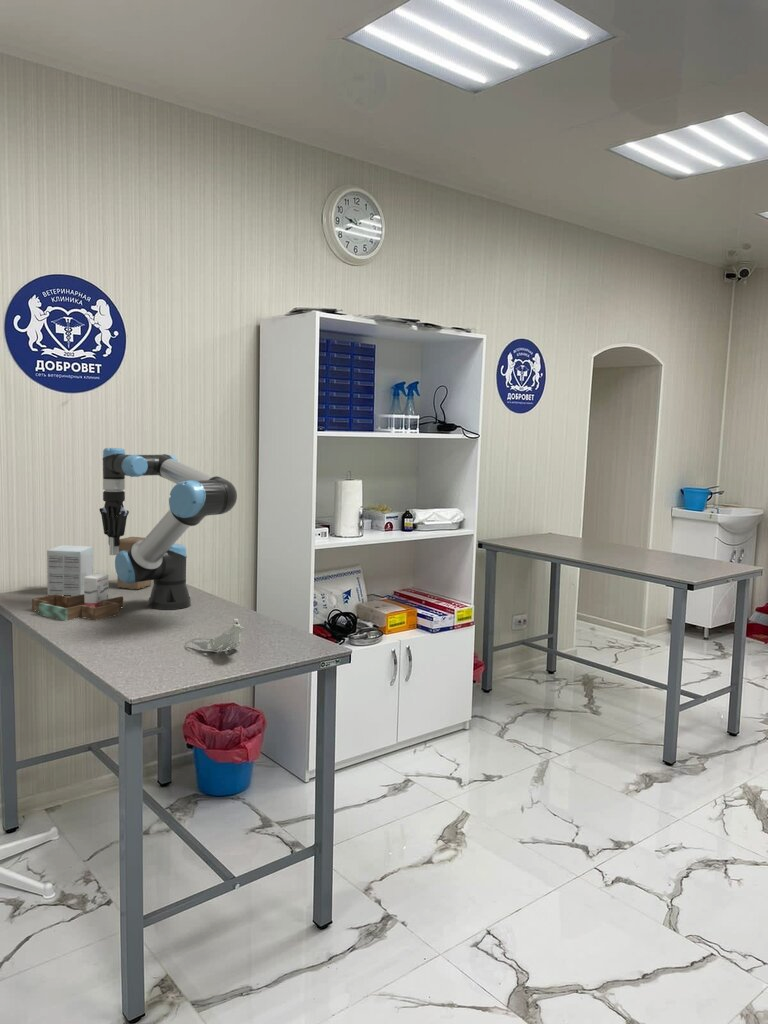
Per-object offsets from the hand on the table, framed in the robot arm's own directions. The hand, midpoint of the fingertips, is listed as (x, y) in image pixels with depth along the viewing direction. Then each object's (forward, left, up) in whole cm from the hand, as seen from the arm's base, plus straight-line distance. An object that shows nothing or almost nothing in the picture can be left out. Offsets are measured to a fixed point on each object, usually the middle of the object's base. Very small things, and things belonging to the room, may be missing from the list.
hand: (114, 554), depth 288 cm
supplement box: (+28, -3, -19) cm, 34 cm away
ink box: (0, +8, -19) cm, 20 cm away
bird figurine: (-73, +22, -19) cm, 78 cm away
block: (+17, -25, -19) cm, 36 cm away
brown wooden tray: (0, +14, -18) cm, 23 cm away
